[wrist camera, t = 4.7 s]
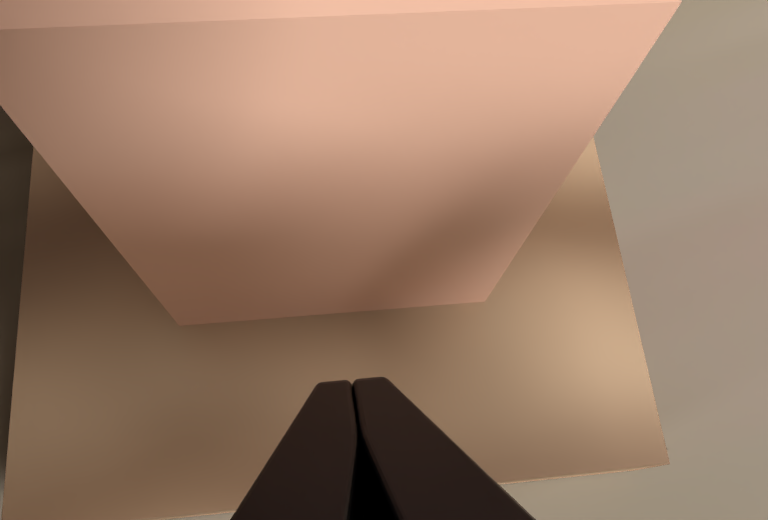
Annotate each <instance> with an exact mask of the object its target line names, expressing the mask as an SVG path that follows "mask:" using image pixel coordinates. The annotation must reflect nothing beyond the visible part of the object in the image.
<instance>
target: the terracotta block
mask: <svg viewBox="0 0 768 520" xmlns="http://www.w3.org/2000/svg"><path fill="white" fill-rule="evenodd" d="M680 3H681V0H0V106H1V107H2V108H3V109H4V111H5V112H6V113H7V114H8V115H9V117H10V118H11V119H12V120H13V122H14V123H15V124H16V125H17V127H18V128H19V129H20V130H21V131H22V133H23V134H24V135H25V136H26V138H27V139H28V140H29V141H30V143H31V144H32V145H33V146H34V147H35V149H36V150H37V151H38V152H39V154H40V155H41V156H42V157H43V159H44V160H45V161H46V162H47V164H48V165H49V166H50V167H51V168H52V170H53V171H54V172H55V173H56V175H57V176H58V177H59V178H60V180H61V181H62V182H63V183H64V184H65V186H66V187H67V188H68V189H69V191H70V192H71V193H72V194H73V196H74V197H75V198H76V199H77V201H78V202H79V203H80V204H81V205H82V207H83V208H84V209H85V210H86V212H87V213H88V214H89V215H90V217H91V218H92V219H93V220H94V221H95V223H96V224H97V225H98V226H99V228H100V229H101V230H102V231H103V233H104V234H105V235H106V236H107V237H108V239H109V240H110V241H111V242H112V244H113V245H114V246H115V247H116V249H117V250H118V251H119V252H120V254H121V255H122V256H123V257H124V258H125V260H126V261H127V262H128V263H129V265H130V266H131V267H132V268H133V270H134V271H135V272H136V273H137V274H138V276H139V277H140V278H141V279H142V281H143V282H144V283H145V284H146V286H147V287H148V288H149V289H150V291H151V292H152V293H153V294H154V295H155V297H156V298H157V299H158V300H159V302H160V303H161V304H162V305H163V307H164V308H165V309H166V310H167V311H168V313H169V314H170V315H171V316H172V318H173V319H174V320H175V321H176V323H177V324H178V325H179V326H183V325H196V324H208V323H221V322H234V321H246V320H259V319H271V318H284V317H296V316H309V315H322V314H334V313H347V312H359V311H372V310H384V309H397V308H410V307H422V306H435V305H447V304H460V303H472V302H485V301H486V299H487V298H488V296H489V295H490V293H491V292H492V290H493V288H494V287H495V285H496V284H497V282H498V281H499V279H500V278H501V276H502V275H503V273H504V272H505V270H506V269H507V267H508V266H509V264H510V263H511V261H512V259H513V258H514V256H515V255H516V253H517V252H518V250H519V249H520V247H521V246H522V244H523V243H524V241H525V240H526V238H527V237H528V235H529V234H530V232H531V231H532V229H533V227H534V226H535V224H536V223H537V221H538V220H539V218H540V217H541V215H542V214H543V212H544V211H545V209H546V208H547V206H548V205H549V203H550V202H551V200H552V199H553V197H554V195H555V194H556V192H557V191H558V189H559V188H560V186H561V185H562V183H563V182H564V180H565V179H566V177H567V176H568V174H569V173H570V171H571V170H572V168H573V167H574V165H575V163H576V162H577V160H578V159H579V157H580V156H581V154H582V153H583V151H584V150H585V148H586V147H587V145H588V144H589V142H590V141H591V139H592V138H593V136H594V134H595V133H596V131H597V130H598V128H599V127H600V125H601V124H602V122H603V121H604V119H605V118H606V116H607V115H608V113H609V112H610V110H611V109H612V107H613V106H614V104H615V102H616V101H617V99H618V98H619V96H620V95H621V93H622V92H623V90H624V89H625V87H626V86H627V84H628V83H629V81H630V80H631V78H632V77H633V75H634V74H635V72H636V70H637V69H638V67H639V66H640V64H641V63H642V61H643V60H644V58H645V57H646V55H647V54H648V52H649V51H650V49H651V48H652V46H653V45H654V43H655V42H656V40H657V38H658V37H659V35H660V34H661V32H662V31H663V29H664V28H665V26H666V25H667V23H668V22H669V20H670V19H671V17H672V16H673V14H674V13H675V11H676V9H677V8H678V6H679V5H680Z"/></svg>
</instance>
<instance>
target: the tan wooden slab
mask: <svg viewBox="0 0 768 520" xmlns="http://www.w3.org/2000/svg"><path fill="white" fill-rule="evenodd" d="M371 377H385V378H387V379H389V380H390V381H391V382H392V383H393V384H394V385H395V386H396V387H397V388H398V389H399V390H400V391H401V392H402V393H403V394H404V395H405V396H406V397H407V398H408V399H410V400H411V401H412V402H413V403H414V404H415V405H416V406H417V407H418V408H419V409H420V410H421V411H422V412H423V413H424V414H425V415H426V416H427V417H428V418H429V419H431V420H432V421H433V422H434V423H435V424H436V425H437V426H438V427H439V428H440V429H441V430H442V431H443V432H444V433H445V434H446V435H447V436H448V437H449V438H450V439H452V440H453V441H454V442H455V443H456V444H457V445H458V446H459V447H460V448H461V449H462V450H463V451H464V452H465V453H466V454H467V455H468V456H469V457H470V458H471V459H473V460H474V461H475V462H476V463H477V464H478V465H479V466H480V467H481V468H482V469H483V470H484V471H485V472H486V473H487V474H488V475H489V476H490V477H491V478H492V479H494V480H495V481H496V482H497V483H498V484H509V483H519V482H528V481H538V480H547V479H557V478H566V477H576V476H586V475H595V474H605V473H614V472H624V471H634V470H639V469H645V468H650V467H656V466H662V465H667V464H670V462H669V458H668V454H667V449H666V445H665V441H664V437H663V432H662V428H661V424H660V420H659V415H658V411H657V407H656V402H655V398H654V394H653V390H652V385H651V381H650V377H649V373H648V368H647V364H646V360H645V356H644V351H643V347H642V343H641V338H640V334H639V330H638V326H637V321H636V317H635V313H634V309H633V304H632V300H631V296H630V291H629V287H628V283H627V279H626V274H625V270H624V266H623V262H622V257H621V253H620V249H619V245H618V240H617V236H616V232H615V227H614V223H613V219H612V215H611V210H610V206H609V202H608V198H607V193H606V189H605V185H604V181H603V176H602V172H601V168H600V163H599V159H598V155H597V151H596V146H595V142H594V138H592V139H591V141H590V142H589V144H588V145H587V147H586V148H585V150H584V151H583V153H582V154H581V156H580V157H579V159H578V160H577V162H576V163H575V165H574V167H573V168H572V170H571V171H570V173H569V174H568V176H567V177H566V179H565V180H564V182H563V183H562V185H561V186H560V188H559V189H558V191H557V192H556V194H555V195H554V197H553V199H552V200H551V202H550V203H549V205H548V206H547V208H546V209H545V211H544V212H543V214H542V215H541V217H540V218H539V220H538V221H537V223H536V224H535V226H534V227H533V229H532V231H531V232H530V234H529V235H528V237H527V238H526V240H525V241H524V243H523V244H522V246H521V247H520V249H519V250H518V252H517V253H516V255H515V256H514V258H513V259H512V261H511V263H510V264H509V266H508V267H507V269H506V270H505V272H504V273H503V275H502V276H501V278H500V279H499V281H498V282H497V284H496V285H495V287H494V288H493V290H492V292H491V293H490V295H489V296H488V298H487V299H486V301H485V302H472V303H460V304H447V305H435V306H422V307H410V308H397V309H384V310H372V311H359V312H347V313H334V314H322V315H309V316H296V317H284V318H271V319H259V320H246V321H234V322H221V323H208V324H196V325H183V326H179V325H178V324H177V323H176V321H175V320H174V319H173V318H172V316H171V315H170V314H169V313H168V311H167V310H166V309H165V308H164V307H163V305H162V304H161V303H160V302H159V300H158V299H157V298H156V297H155V295H154V294H153V293H152V292H151V291H150V289H149V288H148V287H147V286H146V284H145V283H144V282H143V281H142V279H141V278H140V277H139V276H138V274H137V273H136V272H135V271H134V270H133V268H132V267H131V266H130V265H129V263H128V262H127V261H126V260H125V258H124V257H123V256H122V255H121V254H120V252H119V251H118V250H117V249H116V247H115V246H114V245H113V244H112V242H111V241H110V240H109V239H108V237H107V236H106V235H105V234H104V233H103V231H102V230H101V229H100V228H99V226H98V225H97V224H96V223H95V221H94V220H93V219H92V218H91V217H90V215H89V214H88V213H87V212H86V210H85V209H84V208H83V207H82V205H81V204H80V203H79V202H78V201H77V199H76V198H75V197H74V196H73V194H72V193H71V192H70V191H69V189H68V188H67V187H66V186H65V184H64V183H63V182H62V181H61V180H60V178H59V177H58V176H57V175H56V173H55V172H54V171H53V170H52V168H51V167H50V166H49V165H48V164H47V162H46V161H45V160H44V159H43V157H42V156H41V155H40V154H39V152H38V151H37V150H36V149H35V147H34V146H33V156H32V167H31V179H30V191H29V203H28V214H27V226H26V238H25V249H24V261H23V273H22V285H21V296H20V308H19V320H18V332H17V343H16V355H15V367H14V378H13V390H12V402H11V414H10V425H9V437H8V449H7V460H6V472H5V484H4V496H3V507H2V519H1V520H163V519H173V518H183V517H192V516H202V515H211V514H221V513H231V512H236V510H237V508H238V507H239V505H240V504H241V502H242V501H243V499H244V497H245V496H246V494H247V493H248V491H249V490H250V488H251V486H252V485H253V483H254V482H255V480H256V479H257V477H258V475H259V474H260V472H261V471H262V469H263V468H264V466H265V464H266V463H267V461H268V460H269V458H270V457H271V455H272V453H273V452H274V450H275V449H276V447H277V446H278V444H279V442H280V441H281V439H282V438H283V436H284V435H285V433H286V431H287V430H288V428H289V427H290V425H291V424H292V422H293V420H294V419H295V417H296V416H297V414H298V413H299V411H300V409H301V408H302V406H303V405H304V403H305V402H306V400H307V398H308V397H309V395H310V394H311V392H312V391H313V389H314V387H315V386H316V385H317V384H318V383H319V382H327V381H338V380H348V381H350V383H351V384H352V383H353V382H354V380H356V379H361V378H371Z"/></svg>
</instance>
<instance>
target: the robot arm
mask: <svg viewBox="0 0 768 520" xmlns="http://www.w3.org/2000/svg"><path fill="white" fill-rule="evenodd" d="M230 520H536V519H535V518H533V517H532V516H531V515H530V514H529V513H528V512H527V511H526V510H525V509H524V508H523V507H522V506H521V505H520V504H519V503H518V502H517V501H516V500H515V499H514V498H512V497H511V496H510V495H509V494H508V493H507V492H506V491H505V490H504V489H503V488H502V487H501V486H500V485H499V484H498V483H497V482H496V481H495V480H494V479H492V478H491V477H490V476H489V475H488V474H487V473H486V472H485V471H484V470H483V469H482V468H481V467H480V466H479V465H478V464H477V463H476V462H475V461H474V460H473V459H471V458H470V457H469V456H468V455H467V454H466V453H465V452H464V451H463V450H462V449H461V448H460V447H459V446H458V445H457V444H456V443H455V442H454V441H453V440H452V439H450V438H449V437H448V436H447V435H446V434H445V433H444V432H443V431H442V430H441V429H440V428H439V427H438V426H437V425H436V424H435V423H434V422H433V421H432V420H431V419H429V418H428V417H427V416H426V415H425V414H424V413H423V412H422V411H421V410H420V409H419V408H418V407H417V406H416V405H415V404H414V403H413V402H412V401H411V400H410V399H408V398H407V397H406V396H405V395H404V394H403V393H402V392H401V391H400V390H399V389H398V388H397V387H396V386H395V385H394V384H393V383H392V382H391V381H390V380H389V379H387V378H385V377H371V378H361V379H356V380H354V382H353V383H352V384H351V383H350V381H348V380H338V381H327V382H319V383H318V384H317V385H316V386H315V387H314V389H313V391H312V392H311V394H310V395H309V397H308V398H307V400H306V402H305V403H304V405H303V406H302V408H301V409H300V411H299V413H298V414H297V416H296V417H295V419H294V420H293V422H292V424H291V425H290V427H289V428H288V430H287V431H286V433H285V435H284V436H283V438H282V439H281V441H280V442H279V444H278V446H277V447H276V449H275V450H274V452H273V453H272V455H271V457H270V458H269V460H268V461H267V463H266V464H265V466H264V468H263V469H262V471H261V472H260V474H259V475H258V477H257V479H256V480H255V482H254V483H253V485H252V486H251V488H250V490H249V491H248V493H247V494H246V496H245V497H244V499H243V501H242V502H241V504H240V505H239V507H238V508H237V510H236V512H235V513H234V515H233V516H232V518H231V519H230Z"/></svg>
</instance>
